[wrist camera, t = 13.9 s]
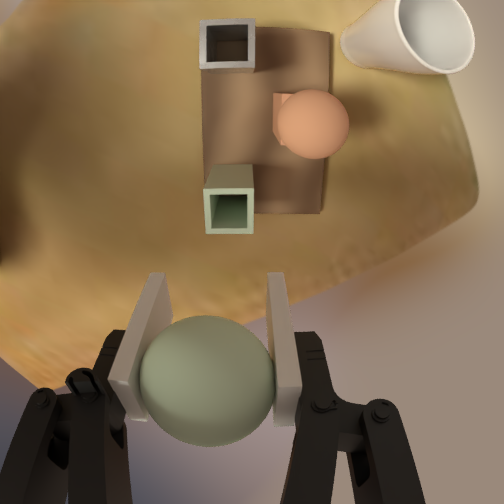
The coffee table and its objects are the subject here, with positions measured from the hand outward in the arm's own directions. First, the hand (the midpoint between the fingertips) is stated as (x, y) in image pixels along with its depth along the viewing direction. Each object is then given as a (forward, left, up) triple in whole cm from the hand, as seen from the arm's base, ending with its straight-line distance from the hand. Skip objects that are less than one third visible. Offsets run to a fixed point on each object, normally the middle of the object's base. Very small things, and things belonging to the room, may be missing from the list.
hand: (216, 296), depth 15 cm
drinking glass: (+13, +16, -21) cm, 29 cm away
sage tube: (0, 0, -19) cm, 19 cm away
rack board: (+3, +6, -21) cm, 22 cm away
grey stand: (0, +13, -19) cm, 23 cm away
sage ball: (0, 0, +3) cm, 3 cm away
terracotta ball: (+6, +7, -12) cm, 15 cm away
